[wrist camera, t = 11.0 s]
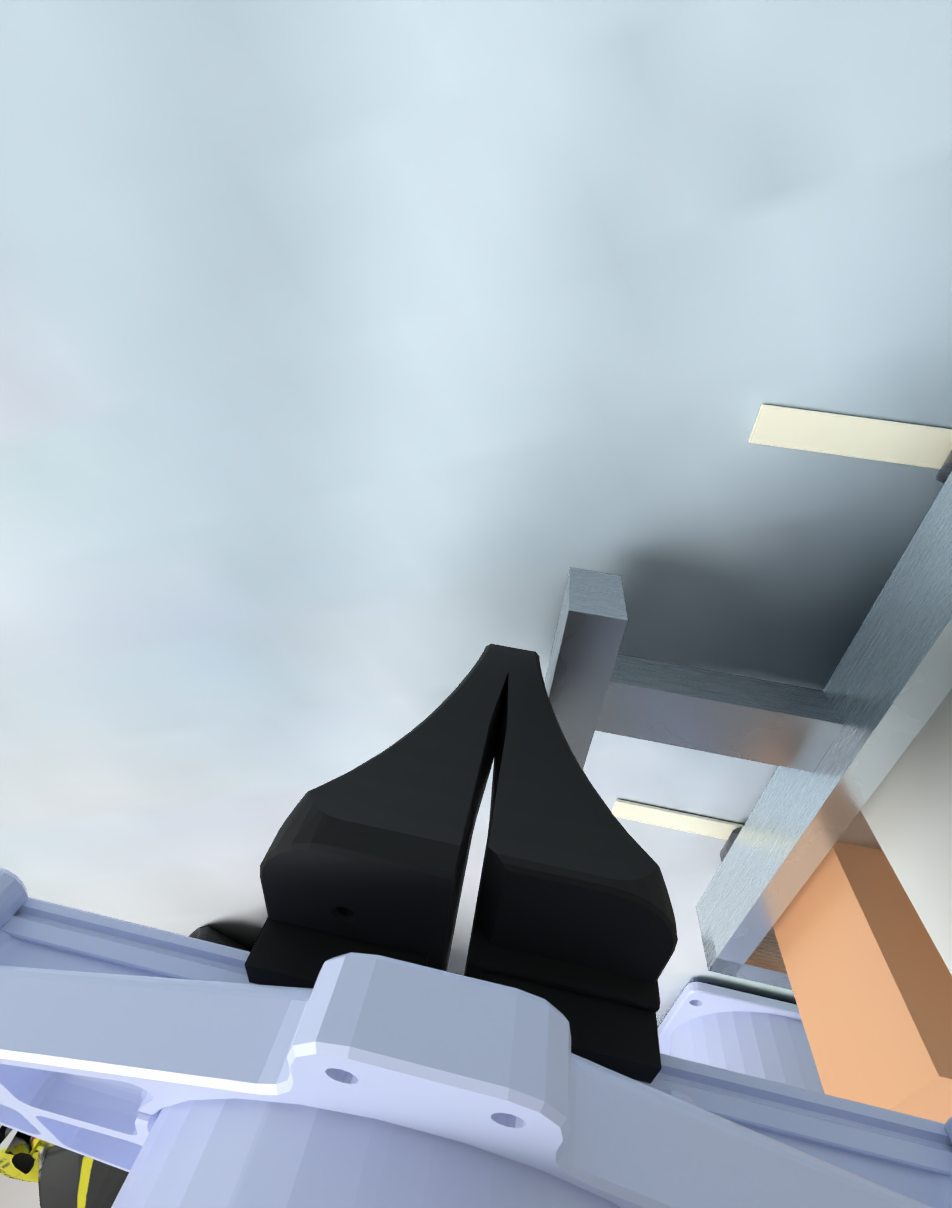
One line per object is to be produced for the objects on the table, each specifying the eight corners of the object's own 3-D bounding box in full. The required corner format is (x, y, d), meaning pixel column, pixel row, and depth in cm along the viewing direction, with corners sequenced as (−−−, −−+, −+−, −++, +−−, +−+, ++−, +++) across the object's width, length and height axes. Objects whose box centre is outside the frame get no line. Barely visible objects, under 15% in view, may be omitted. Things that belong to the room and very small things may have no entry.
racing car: (46, 1050, 42) (-122, 1290, 32) (275, 847, 25) (79, 1215, 15) (225, 1133, 46) (127, 1372, 35) (528, 1004, 29) (514, 1387, 19)
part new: (907, 948, 16) (1029, 1190, 11) (770, 918, 16) (839, 1142, 12) (988, 872, 14) (1176, 1133, 9) (829, 839, 14) (939, 1076, 10)
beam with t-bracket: (891, 917, 18) (946, 1025, 16) (508, 835, 20) (497, 922, 17) (1429, 360, 9) (1799, 387, 6) (630, 270, 10) (649, 260, 8)
